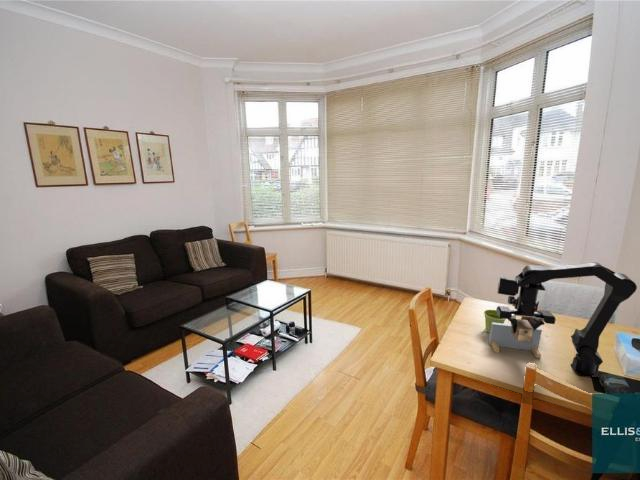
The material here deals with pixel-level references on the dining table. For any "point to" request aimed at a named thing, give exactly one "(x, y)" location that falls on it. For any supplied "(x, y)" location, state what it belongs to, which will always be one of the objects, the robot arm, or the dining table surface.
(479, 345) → the dining table surface
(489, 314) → the plant pot
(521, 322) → the cabinet block
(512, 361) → the dining table surface
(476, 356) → the dining table surface
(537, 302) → the wooden figurine
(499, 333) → the grey toy bench
